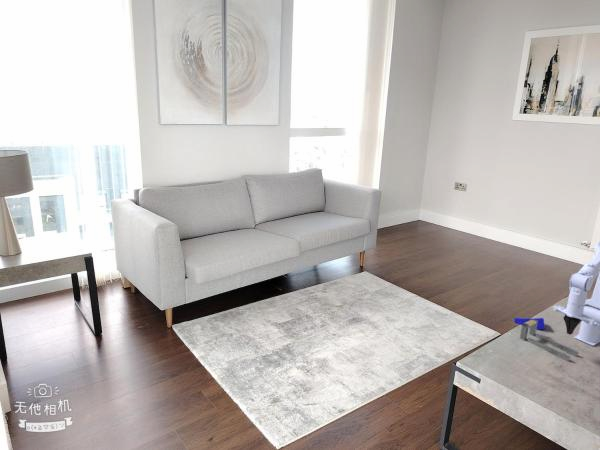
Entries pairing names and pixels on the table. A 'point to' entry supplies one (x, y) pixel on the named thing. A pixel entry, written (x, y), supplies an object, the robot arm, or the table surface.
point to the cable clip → (523, 320)
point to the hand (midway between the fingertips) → (569, 333)
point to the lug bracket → (526, 325)
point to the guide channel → (554, 349)
